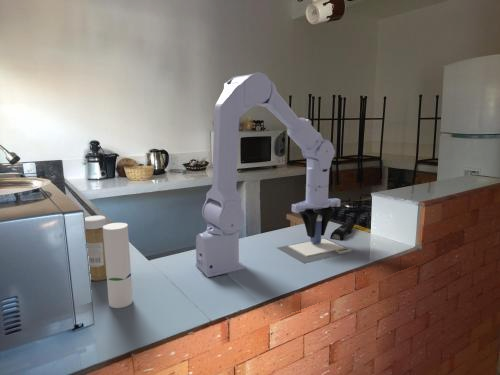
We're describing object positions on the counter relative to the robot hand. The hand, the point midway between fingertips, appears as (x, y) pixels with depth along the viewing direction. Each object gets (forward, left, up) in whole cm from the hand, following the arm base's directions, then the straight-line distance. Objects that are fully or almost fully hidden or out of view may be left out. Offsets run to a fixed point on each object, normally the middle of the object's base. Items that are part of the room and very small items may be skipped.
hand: (315, 235), depth 102 cm
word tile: (+3, -7, -3) cm, 9 cm away
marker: (0, 0, -2) cm, 2 cm away
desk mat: (-2, -3, -3) cm, 5 cm away
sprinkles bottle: (-53, +7, -3) cm, 54 cm away
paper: (-1, -2, -3) cm, 4 cm away
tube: (-51, -7, -3) cm, 52 cm away
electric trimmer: (+14, +4, -3) cm, 15 cm away
